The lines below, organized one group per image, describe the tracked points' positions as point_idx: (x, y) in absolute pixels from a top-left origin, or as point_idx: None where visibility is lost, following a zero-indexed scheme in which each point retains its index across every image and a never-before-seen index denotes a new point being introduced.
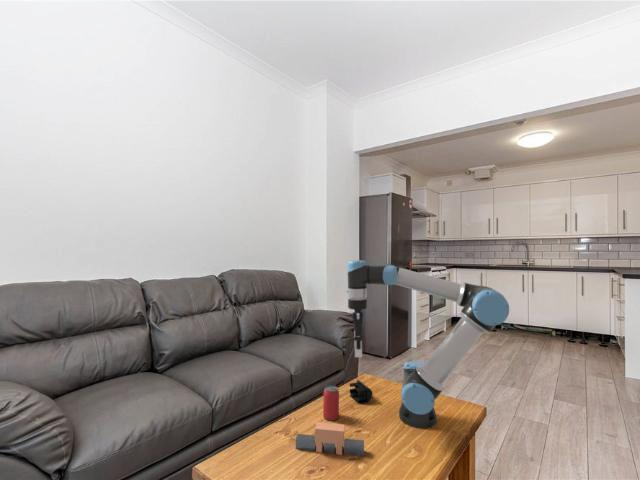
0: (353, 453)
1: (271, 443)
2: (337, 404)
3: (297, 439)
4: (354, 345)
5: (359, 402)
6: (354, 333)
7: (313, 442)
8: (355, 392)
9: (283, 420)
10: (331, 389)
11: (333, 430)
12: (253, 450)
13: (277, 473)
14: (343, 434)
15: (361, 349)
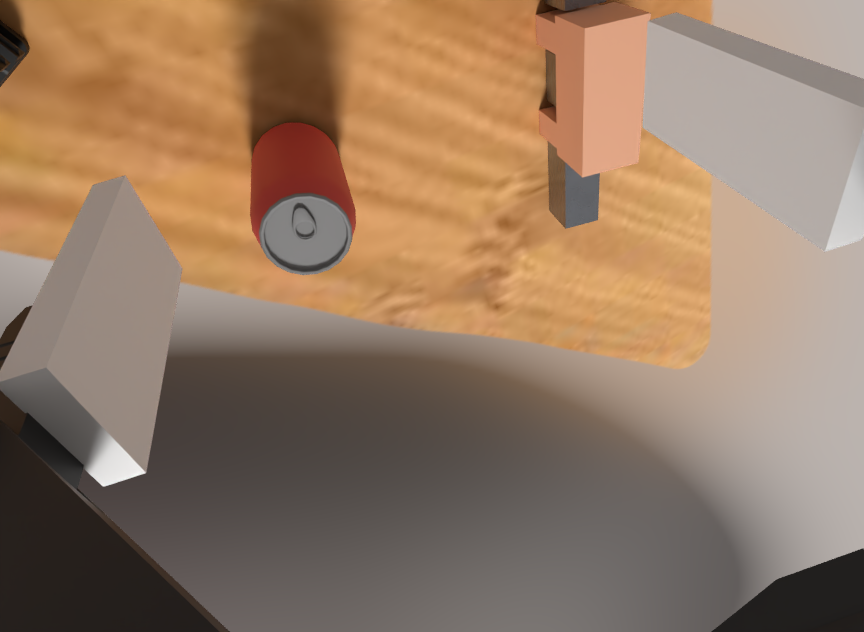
0: None
1: (565, 286)
2: (313, 152)
3: (596, 212)
4: (180, 277)
5: (17, 43)
6: (152, 426)
7: None
8: None
9: (414, 326)
10: (313, 231)
11: (644, 71)
12: (608, 311)
13: (707, 195)
14: (642, 10)
15: (758, 52)
